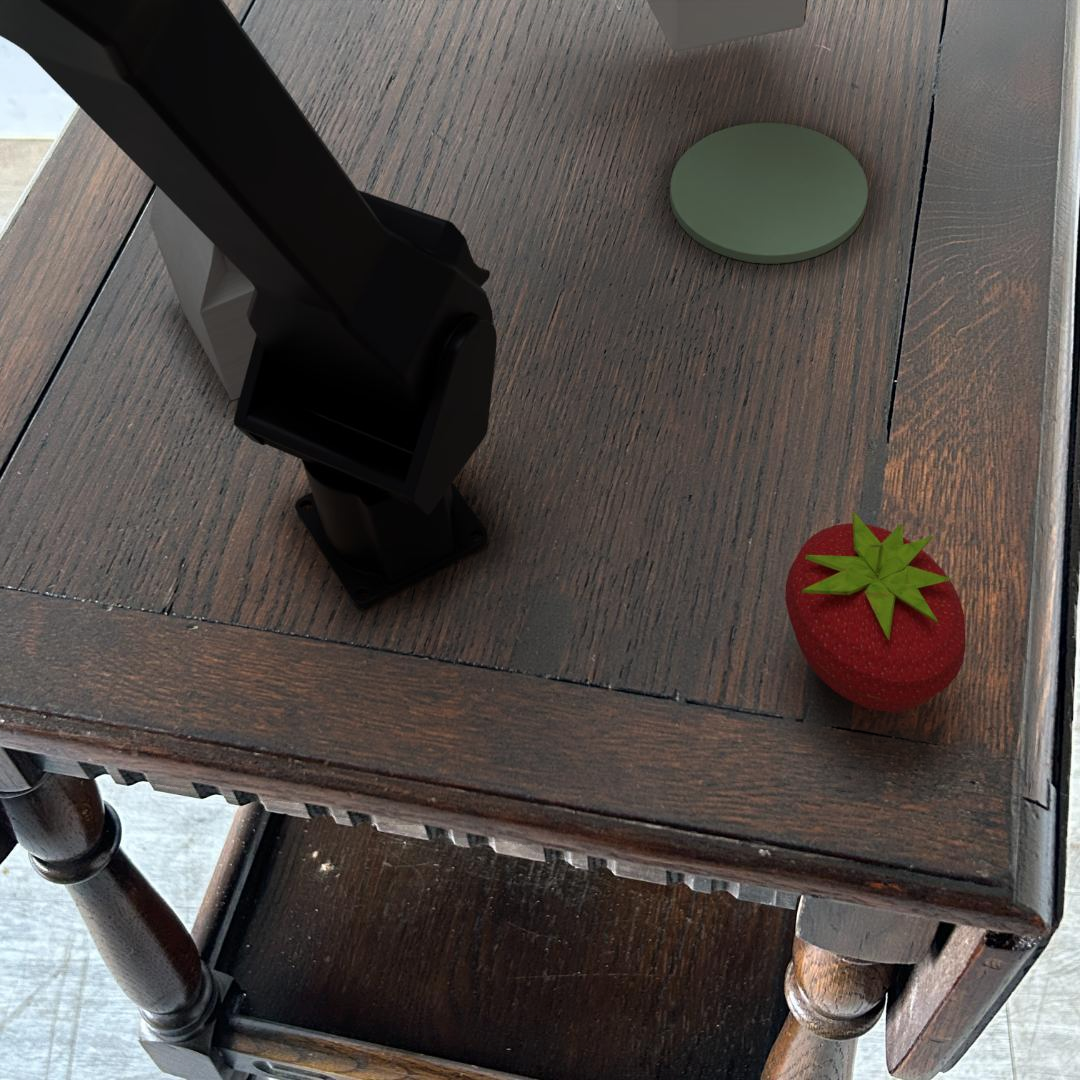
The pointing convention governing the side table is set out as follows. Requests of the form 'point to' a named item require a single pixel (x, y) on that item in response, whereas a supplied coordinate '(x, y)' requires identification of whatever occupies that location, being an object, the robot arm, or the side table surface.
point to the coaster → (768, 193)
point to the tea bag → (207, 292)
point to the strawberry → (875, 616)
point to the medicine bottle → (724, 20)
